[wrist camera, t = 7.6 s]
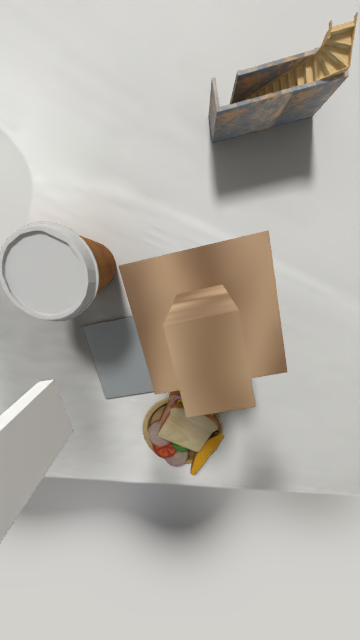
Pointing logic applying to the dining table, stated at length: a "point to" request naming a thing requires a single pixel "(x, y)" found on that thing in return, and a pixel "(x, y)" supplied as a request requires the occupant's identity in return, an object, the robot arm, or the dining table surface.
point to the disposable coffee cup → (53, 270)
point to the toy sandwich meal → (181, 433)
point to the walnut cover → (208, 321)
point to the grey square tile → (118, 357)
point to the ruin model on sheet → (284, 87)
